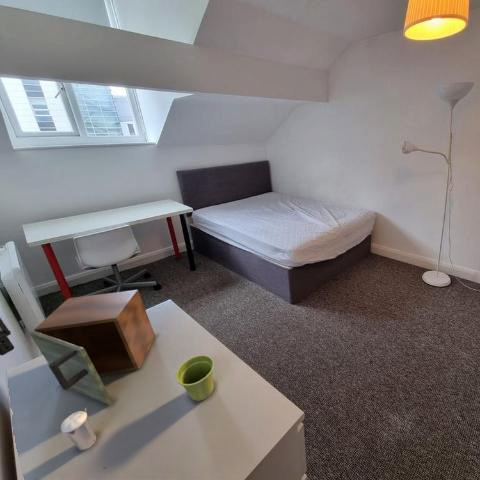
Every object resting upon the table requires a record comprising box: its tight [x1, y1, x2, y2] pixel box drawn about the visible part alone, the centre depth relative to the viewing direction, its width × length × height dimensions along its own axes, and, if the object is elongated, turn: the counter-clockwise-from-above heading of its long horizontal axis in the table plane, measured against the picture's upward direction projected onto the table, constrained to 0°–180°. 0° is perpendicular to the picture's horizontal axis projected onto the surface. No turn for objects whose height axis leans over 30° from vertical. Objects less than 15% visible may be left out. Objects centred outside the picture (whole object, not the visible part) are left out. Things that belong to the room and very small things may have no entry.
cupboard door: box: [29, 330, 113, 406], centre depth 69 cm, size 6×20×20 cm, turn 71°
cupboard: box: [33, 289, 156, 377], centre depth 83 cm, size 14×20×20 cm
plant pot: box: [175, 354, 215, 402], centre depth 73 cm, size 9×9×9 cm
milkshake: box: [60, 403, 97, 451], centre depth 62 cm, size 4×5×10 cm
